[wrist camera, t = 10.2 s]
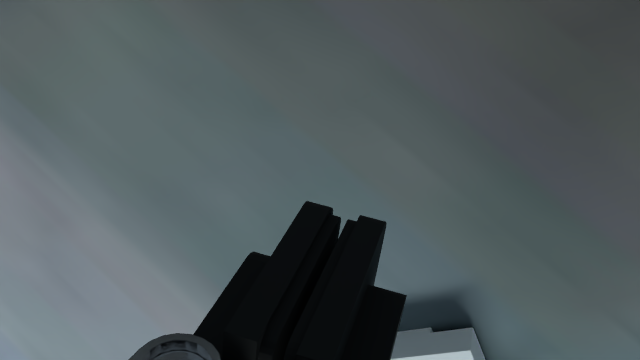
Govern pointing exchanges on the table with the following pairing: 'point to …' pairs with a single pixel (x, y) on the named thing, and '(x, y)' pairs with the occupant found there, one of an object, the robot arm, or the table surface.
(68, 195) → the table surface
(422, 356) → the bracket
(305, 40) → the table surface
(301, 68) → the table surface
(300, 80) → the table surface
